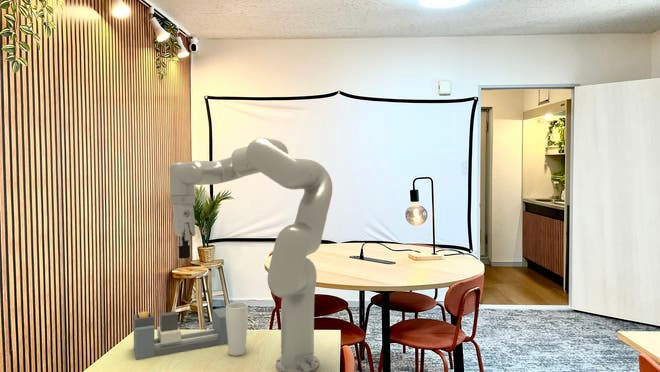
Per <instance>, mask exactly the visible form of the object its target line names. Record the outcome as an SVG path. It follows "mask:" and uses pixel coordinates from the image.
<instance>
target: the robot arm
mask: <svg viewBox="0 0 660 372" xmlns="http://www.w3.org/2000/svg"><path fill="white" fill-rule="evenodd" d="M259 173H262V175H264V176H266V177H267V178H269V179H270V180H272V181H273V182H275V183H277V184H278V185H280V186H281V187H283V188H285V189H289V190H294V191H295V190H303V196H301V197H302V198H301V199H300V202H299V205H298V208H297V213H296V217H295V220H294V223H293V224H289V225H287V226H285V227H283V229H281V231H280V232H279V233H278V235H277V236H276V239H275V242H274V246H273V251H272V254H271V259H270V263H269V266H268V272H267V285H268V289H269V290H270V292H271V293H272V294H273V295H274V296H276V297H277V298H280V299H281V304H280V305H281V306H280V307H281V308H280V310H281V311H280V341H281V342H280V355H281V356H279V357H278V358H276V361H275V367H276V368H277V370H278V371H280V372H314V371H315V370H317V369H318V368H319V366H320V360H319V358H318V357H317V356H316V355H315V329H314V328H315V293H316V286H317V285H316V284H317V279H318V278H317V276H318V275H317V274H318V273H317V269H316V266H315V264H314V262H313V261H312V260H311V259H310V258H308V257H307V256H309V255H311V254H314V253H315V252H317V251H318V250H319V248H320V246H321V243H322V239H323V234H324V231H325V226H326V223H327V222H326V221H327V217H328V213H329V209H330V204H331V201H332V196H333V182H332V178H331V175H330V174H329V172H328V170H327V169H326V168H325V167H324V166H323V165H322V164H320V163H319V162H316V161H315V160H311V159H307V158H305V159H304V158H295V157H293V156H292V155H291V154H289V149H288V148H287V146H286V145H285V144H284V142H282V141H280V140H277V139H273V138H266V137H259V138H256V139H253V140H252V141H251V142H250V143H249V144H248V145H247V146H243V147H241V148H236V149H235V150H233V152H232V153H231V156H230V157H227V158H224V159H220V160H213V161H212V160H211V161H210V160H191V161H188V162H187V161H185V162H184V161H181V162H178V161H177V162H172V163H170V165H169V190H170V191H169V193H170V195H169V196H170V199H169V200H170V206H171V207H173V226H174V227H173V230H174V234H175V236H177V238H178V239H177V240H178V241H177V242H178V258H179V259H180V260H181V259H189V258H191V245H190V244H191V243H190V242H191V238H190V237H191V236H192V237H195V236H196V235H197V234H196V220H195V210H194V206H196V193H195V192H196V191H195V190H196V187H195V186H202V185H203V186H204V185H218V184H219V185H220V184H224V183H228V182H231V181H234V180H237V179H241V178H244V177H247V176H251V175H255V174H259Z"/></svg>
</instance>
